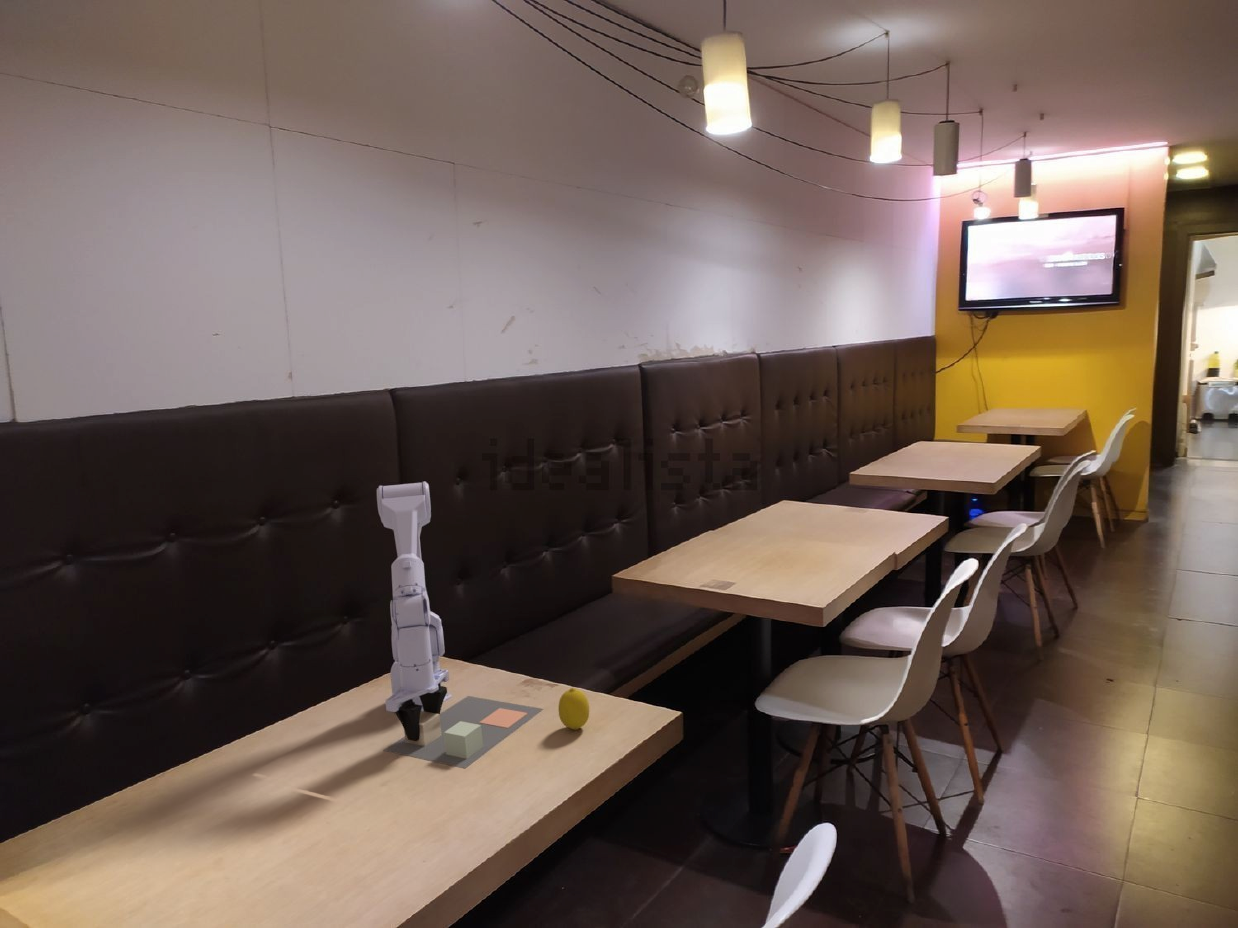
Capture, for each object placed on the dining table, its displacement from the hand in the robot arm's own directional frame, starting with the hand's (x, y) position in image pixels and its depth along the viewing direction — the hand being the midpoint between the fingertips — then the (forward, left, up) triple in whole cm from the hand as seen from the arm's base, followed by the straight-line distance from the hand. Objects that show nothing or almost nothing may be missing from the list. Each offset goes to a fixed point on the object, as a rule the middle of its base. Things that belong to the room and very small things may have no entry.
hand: (423, 733), depth 150 cm
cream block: (0, 0, -1) cm, 1 cm away
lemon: (+24, +13, -2) cm, 27 cm away
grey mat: (+5, +6, -1) cm, 8 cm away
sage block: (+10, -1, -1) cm, 10 cm away
